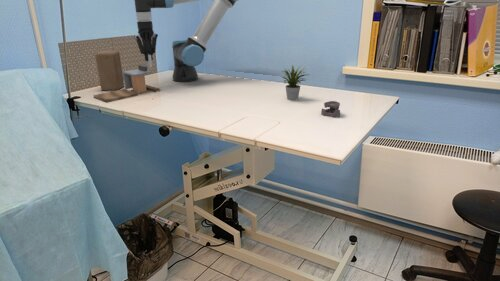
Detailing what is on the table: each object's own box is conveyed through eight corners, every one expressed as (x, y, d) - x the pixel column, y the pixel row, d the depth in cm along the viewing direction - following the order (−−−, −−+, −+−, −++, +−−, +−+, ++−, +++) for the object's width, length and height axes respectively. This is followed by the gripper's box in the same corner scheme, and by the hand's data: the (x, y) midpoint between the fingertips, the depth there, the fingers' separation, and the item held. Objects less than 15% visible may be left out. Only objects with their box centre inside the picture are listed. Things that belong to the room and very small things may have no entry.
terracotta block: (141, 89, 196) (139, 73, 193) (146, 91, 193) (144, 74, 190) (133, 91, 193) (130, 74, 189) (138, 93, 190) (135, 76, 186)
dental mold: (344, 114, 150) (345, 103, 148) (336, 118, 145) (337, 107, 144) (327, 111, 155) (328, 100, 153) (319, 115, 150) (320, 103, 148)
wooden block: (118, 90, 196) (112, 53, 188) (100, 90, 196) (93, 53, 188) (125, 86, 205) (119, 50, 197) (107, 86, 205) (101, 50, 198)
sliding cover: (141, 85, 200) (139, 64, 195) (153, 88, 192) (151, 66, 187) (125, 88, 193) (121, 66, 188) (136, 92, 185) (133, 69, 181)
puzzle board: (145, 86, 203) (145, 84, 202) (159, 90, 194) (159, 88, 193) (93, 97, 183) (93, 95, 182) (106, 102, 174) (106, 100, 173)
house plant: (294, 105, 163) (295, 69, 157) (271, 100, 172) (271, 65, 166) (312, 99, 173) (314, 64, 167) (289, 94, 182) (290, 61, 176)
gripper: (151, 19, 192) (156, 64, 200) (129, 21, 183) (135, 67, 192) (159, 20, 187) (164, 66, 196) (136, 21, 178) (142, 69, 187)
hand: (149, 66), depth 194 cm, fingers closed
